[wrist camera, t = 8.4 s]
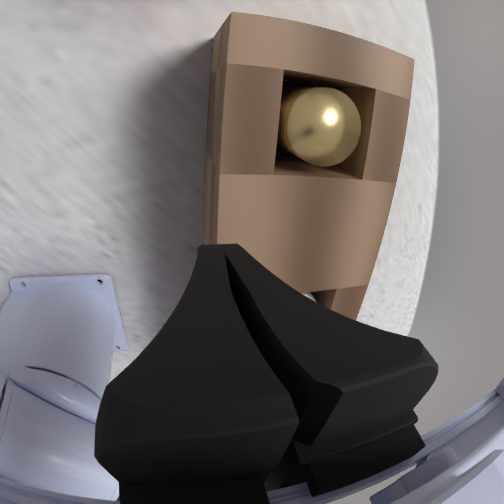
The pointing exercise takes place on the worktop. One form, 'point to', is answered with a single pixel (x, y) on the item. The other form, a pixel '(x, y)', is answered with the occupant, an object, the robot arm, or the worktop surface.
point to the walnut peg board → (294, 168)
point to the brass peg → (318, 125)
